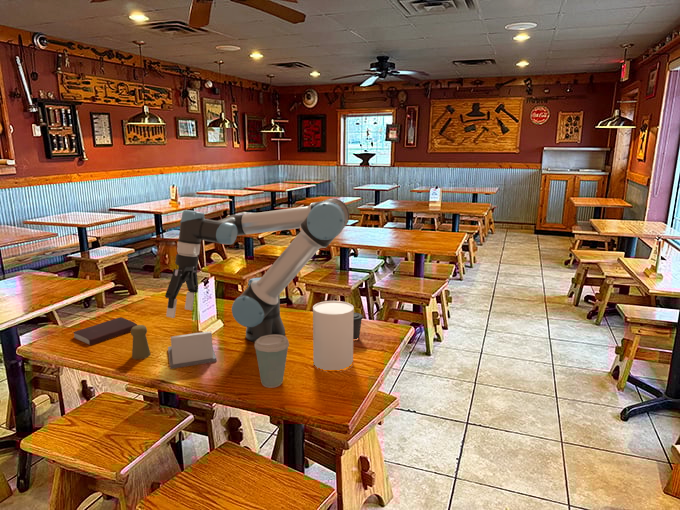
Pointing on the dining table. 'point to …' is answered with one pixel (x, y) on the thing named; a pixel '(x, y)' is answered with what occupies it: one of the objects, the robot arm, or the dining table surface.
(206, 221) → the robot arm
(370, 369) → the dining table surface
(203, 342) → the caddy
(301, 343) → the dining table surface
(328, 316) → the canister
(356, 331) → the coffee cup
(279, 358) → the disposable coffee cup
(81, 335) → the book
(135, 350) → the cork
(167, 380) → the dining table surface
